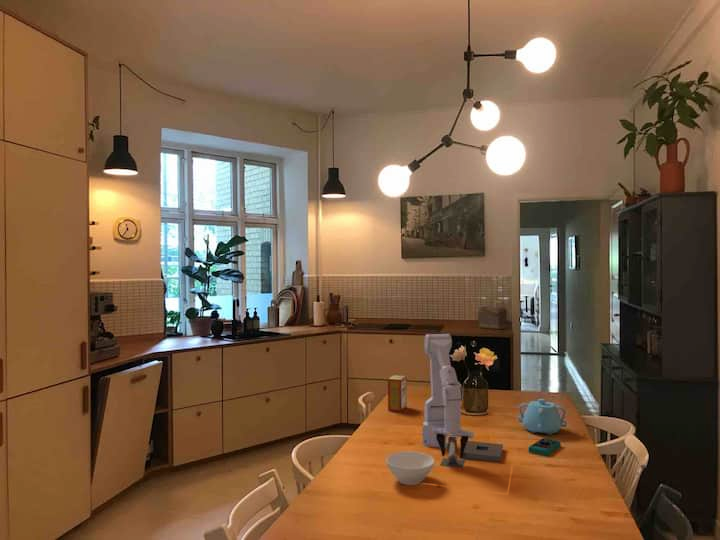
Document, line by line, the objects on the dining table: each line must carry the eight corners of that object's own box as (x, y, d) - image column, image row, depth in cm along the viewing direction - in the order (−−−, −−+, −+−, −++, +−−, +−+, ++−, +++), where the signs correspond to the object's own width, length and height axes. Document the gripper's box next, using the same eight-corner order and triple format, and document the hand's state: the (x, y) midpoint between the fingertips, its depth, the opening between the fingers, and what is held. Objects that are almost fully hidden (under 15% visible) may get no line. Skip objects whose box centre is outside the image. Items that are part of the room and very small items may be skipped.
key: (447, 463, 192) (447, 438, 192) (449, 461, 194) (449, 436, 194) (456, 464, 191) (456, 439, 191) (457, 462, 193) (457, 436, 193)
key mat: (439, 467, 190) (439, 465, 190) (443, 459, 198) (443, 457, 198) (462, 469, 187) (462, 468, 187) (465, 461, 195) (465, 460, 195)
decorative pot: (536, 438, 221) (536, 405, 221) (514, 427, 237) (514, 396, 236) (570, 435, 226) (570, 402, 225) (546, 424, 241) (547, 393, 241)
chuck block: (460, 459, 198) (460, 452, 198) (466, 447, 211) (466, 440, 211) (500, 463, 193) (500, 456, 193) (503, 450, 206) (503, 444, 206)
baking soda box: (400, 412, 262) (400, 379, 262) (388, 410, 264) (387, 378, 264) (406, 407, 271) (406, 375, 270) (394, 406, 273) (393, 374, 273)
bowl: (438, 474, 183) (438, 454, 183) (428, 493, 168) (428, 471, 168) (393, 469, 188) (393, 449, 188) (379, 487, 173) (379, 465, 173)
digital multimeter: (561, 447, 211) (561, 439, 211) (546, 457, 200) (546, 449, 200) (543, 443, 216) (543, 436, 216) (527, 453, 205) (527, 445, 205)
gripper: (430, 419, 191) (430, 457, 191) (471, 423, 186) (471, 462, 186) (434, 414, 198) (434, 451, 198) (474, 417, 193) (474, 455, 193)
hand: (452, 456), depth 193 cm, fingers open, 6 cm apart
